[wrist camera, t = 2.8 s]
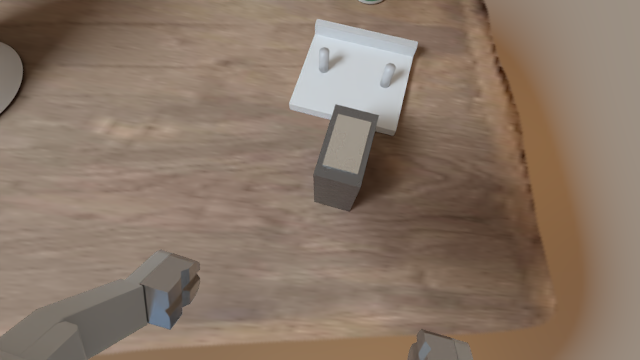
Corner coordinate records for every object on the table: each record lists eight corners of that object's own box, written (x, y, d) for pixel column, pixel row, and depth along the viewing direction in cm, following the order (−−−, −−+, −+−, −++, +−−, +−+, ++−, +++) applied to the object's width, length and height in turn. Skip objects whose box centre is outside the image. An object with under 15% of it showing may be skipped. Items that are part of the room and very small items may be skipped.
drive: (349, 211, 33) (360, 186, 24) (314, 201, 33) (313, 173, 24) (364, 155, 35) (379, 113, 26) (331, 146, 35) (335, 102, 27)
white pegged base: (393, 135, 36) (402, 117, 32) (290, 109, 37) (286, 88, 33) (411, 57, 39) (422, 32, 35) (317, 35, 40) (317, 8, 36)
